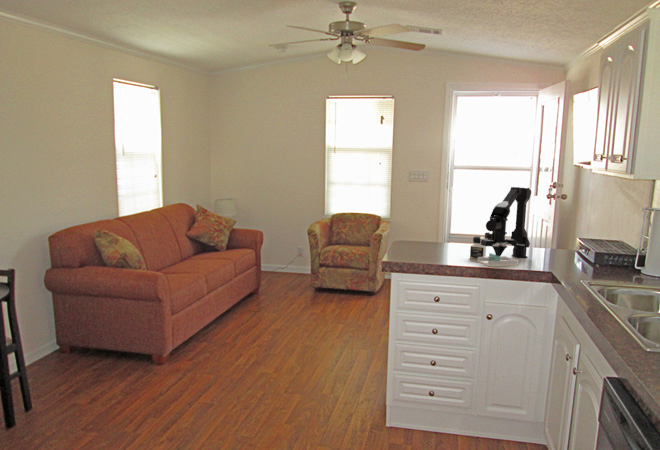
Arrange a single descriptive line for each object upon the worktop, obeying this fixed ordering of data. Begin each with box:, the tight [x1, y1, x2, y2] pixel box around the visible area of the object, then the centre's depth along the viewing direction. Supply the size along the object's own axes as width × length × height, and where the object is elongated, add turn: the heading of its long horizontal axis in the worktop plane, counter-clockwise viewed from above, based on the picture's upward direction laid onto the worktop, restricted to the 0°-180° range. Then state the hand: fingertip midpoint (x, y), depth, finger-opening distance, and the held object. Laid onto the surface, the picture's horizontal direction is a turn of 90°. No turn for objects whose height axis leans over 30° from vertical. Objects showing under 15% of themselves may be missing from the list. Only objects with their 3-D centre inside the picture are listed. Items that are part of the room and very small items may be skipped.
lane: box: [476, 255, 519, 267], centre depth 270 cm, size 17×12×2 cm
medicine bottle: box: [469, 235, 487, 260], centre depth 282 cm, size 7×7×12 cm
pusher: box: [481, 252, 500, 261], centre depth 269 cm, size 8×8×4 cm
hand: (497, 258), depth 270 cm, fingers closed
